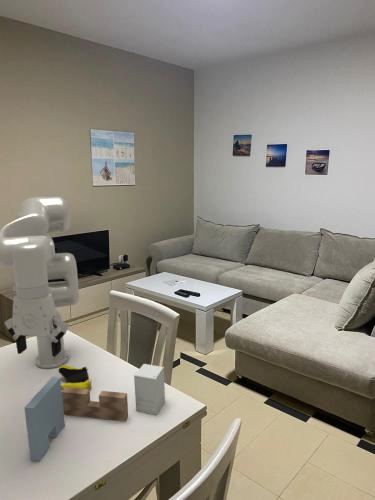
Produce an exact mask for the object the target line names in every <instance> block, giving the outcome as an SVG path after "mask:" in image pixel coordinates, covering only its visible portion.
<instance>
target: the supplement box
mask: <svg viewBox="0 0 375 500" xmlns="http://www.w3.org/2000/svg"><path fill="white" fill-rule="evenodd" d="M133 378H134V380H133V381H134V382H133V383H134V399H135V410H136V412H141V413H145V414H151V415H155V416H157V415H158V414H159V412H160V411H161V409H162V407H163V406H164V404H165V402H166V396H165V393H166V392H165V388H166V387H165V367H164V366H159V365H154V364H147V363H143V364H142V365H141V367H139V369H138V370H137V371H136V373H135V374H133Z"/></svg>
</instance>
